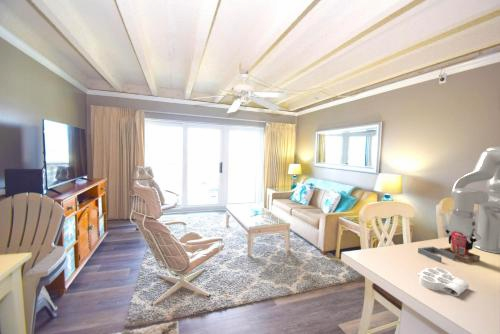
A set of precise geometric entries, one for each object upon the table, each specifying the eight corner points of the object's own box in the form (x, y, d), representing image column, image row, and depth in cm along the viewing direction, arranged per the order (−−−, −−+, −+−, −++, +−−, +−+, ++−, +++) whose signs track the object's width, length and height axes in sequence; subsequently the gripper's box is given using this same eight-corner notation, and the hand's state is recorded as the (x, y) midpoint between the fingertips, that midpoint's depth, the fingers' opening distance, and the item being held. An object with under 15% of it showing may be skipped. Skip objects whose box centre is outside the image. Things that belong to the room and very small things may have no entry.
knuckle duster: (454, 301, 79) (409, 280, 92) (471, 287, 88) (427, 270, 101) (455, 293, 79) (409, 273, 91) (472, 279, 88) (428, 263, 100)
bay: (432, 250, 121) (432, 246, 121) (455, 260, 111) (455, 255, 111) (417, 252, 118) (418, 248, 118) (439, 262, 108) (440, 257, 108)
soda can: (460, 250, 118) (462, 229, 117) (472, 256, 111) (474, 233, 110) (446, 249, 118) (448, 228, 118) (457, 255, 111) (459, 233, 111)
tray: (453, 251, 122) (454, 246, 121) (479, 260, 111) (479, 256, 111) (439, 252, 119) (439, 248, 118) (464, 263, 108) (464, 258, 108)
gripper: (489, 218, 106) (486, 253, 107) (449, 208, 123) (446, 239, 124) (479, 218, 104) (475, 254, 105) (439, 209, 121) (436, 240, 122)
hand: (459, 246), depth 114 cm, fingers closed on soda can, 7 cm apart
